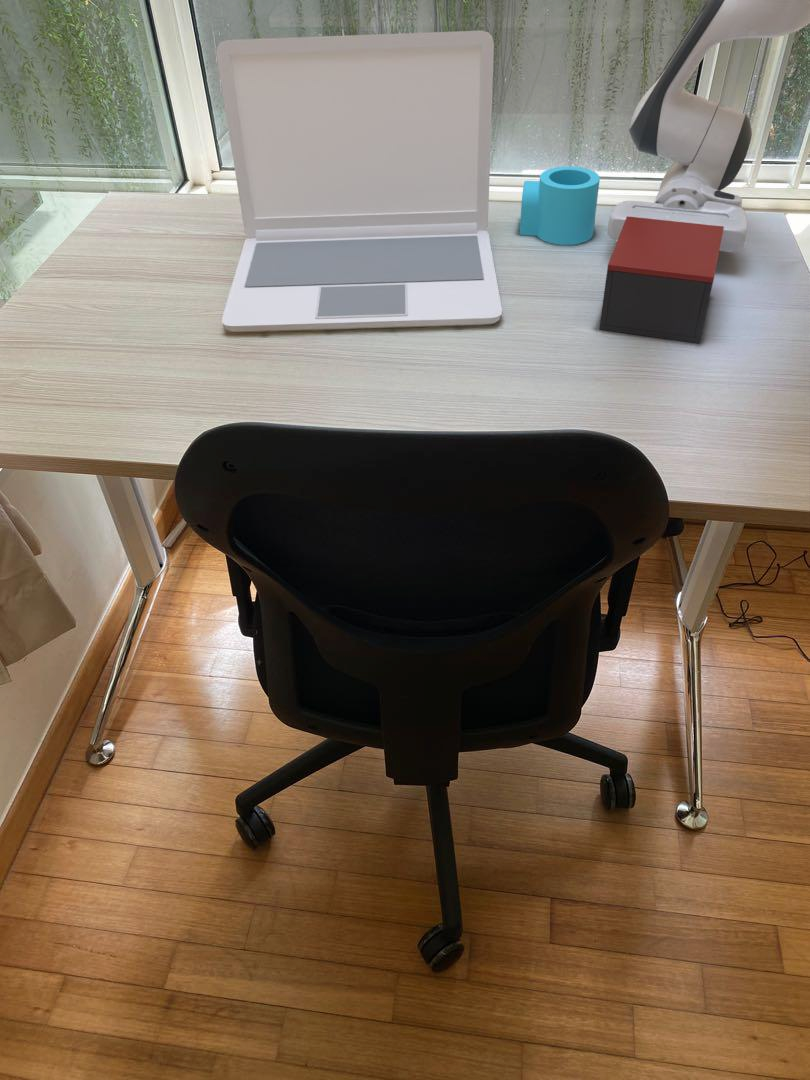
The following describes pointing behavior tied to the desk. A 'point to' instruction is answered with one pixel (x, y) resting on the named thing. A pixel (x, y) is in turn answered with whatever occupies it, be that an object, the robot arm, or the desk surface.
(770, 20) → the robot arm
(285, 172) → the laptop
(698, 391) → the desk surface
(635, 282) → the dark grey box
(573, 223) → the cup
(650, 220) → the lid
